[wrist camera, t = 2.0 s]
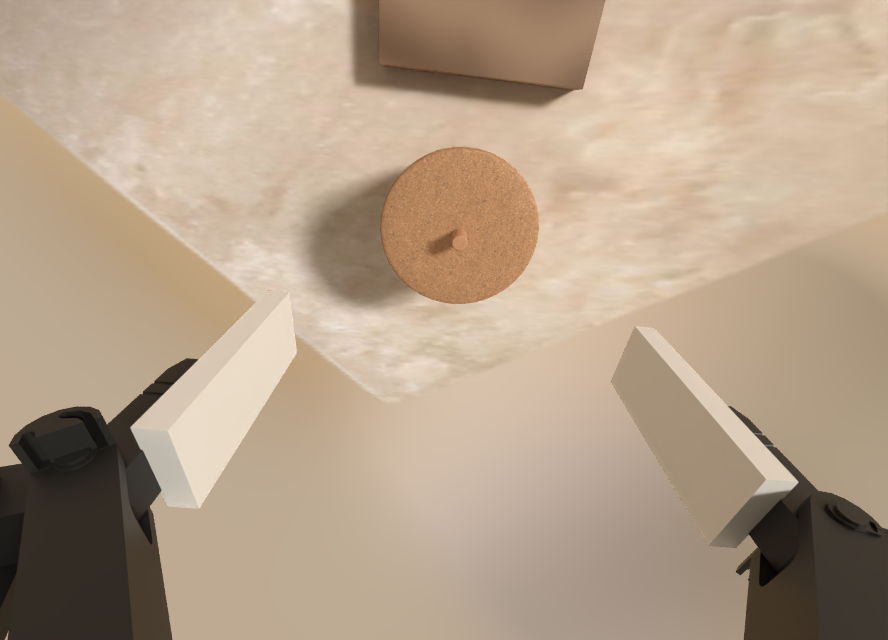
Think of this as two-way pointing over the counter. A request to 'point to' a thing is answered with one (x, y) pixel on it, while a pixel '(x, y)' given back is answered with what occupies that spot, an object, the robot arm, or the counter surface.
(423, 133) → the counter surface
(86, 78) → the counter surface
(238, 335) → the robot arm
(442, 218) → the lidded jar
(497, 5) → the walnut board
